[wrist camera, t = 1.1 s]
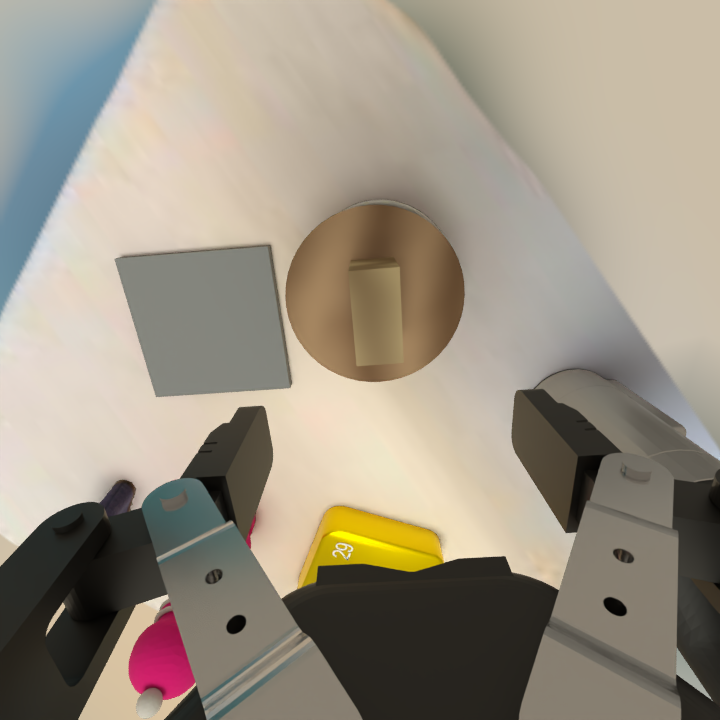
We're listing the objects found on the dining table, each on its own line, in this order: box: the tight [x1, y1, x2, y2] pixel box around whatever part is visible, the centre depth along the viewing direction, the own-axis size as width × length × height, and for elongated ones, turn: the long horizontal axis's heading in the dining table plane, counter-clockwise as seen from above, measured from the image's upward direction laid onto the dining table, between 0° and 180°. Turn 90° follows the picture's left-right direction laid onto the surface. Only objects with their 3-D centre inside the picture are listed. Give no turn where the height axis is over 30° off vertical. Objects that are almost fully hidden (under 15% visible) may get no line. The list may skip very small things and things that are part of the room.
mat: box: [115, 245, 292, 397], centre depth 38 cm, size 14×14×1 cm
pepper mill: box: [129, 516, 255, 719], centre depth 38 cm, size 7×7×20 cm
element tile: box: [297, 506, 444, 589], centre depth 48 cm, size 15×15×5 cm
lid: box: [286, 205, 465, 382], centre depth 26 cm, size 13×13×6 cm
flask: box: [99, 480, 136, 517], centre depth 42 cm, size 9×3×11 cm, turn 160°
